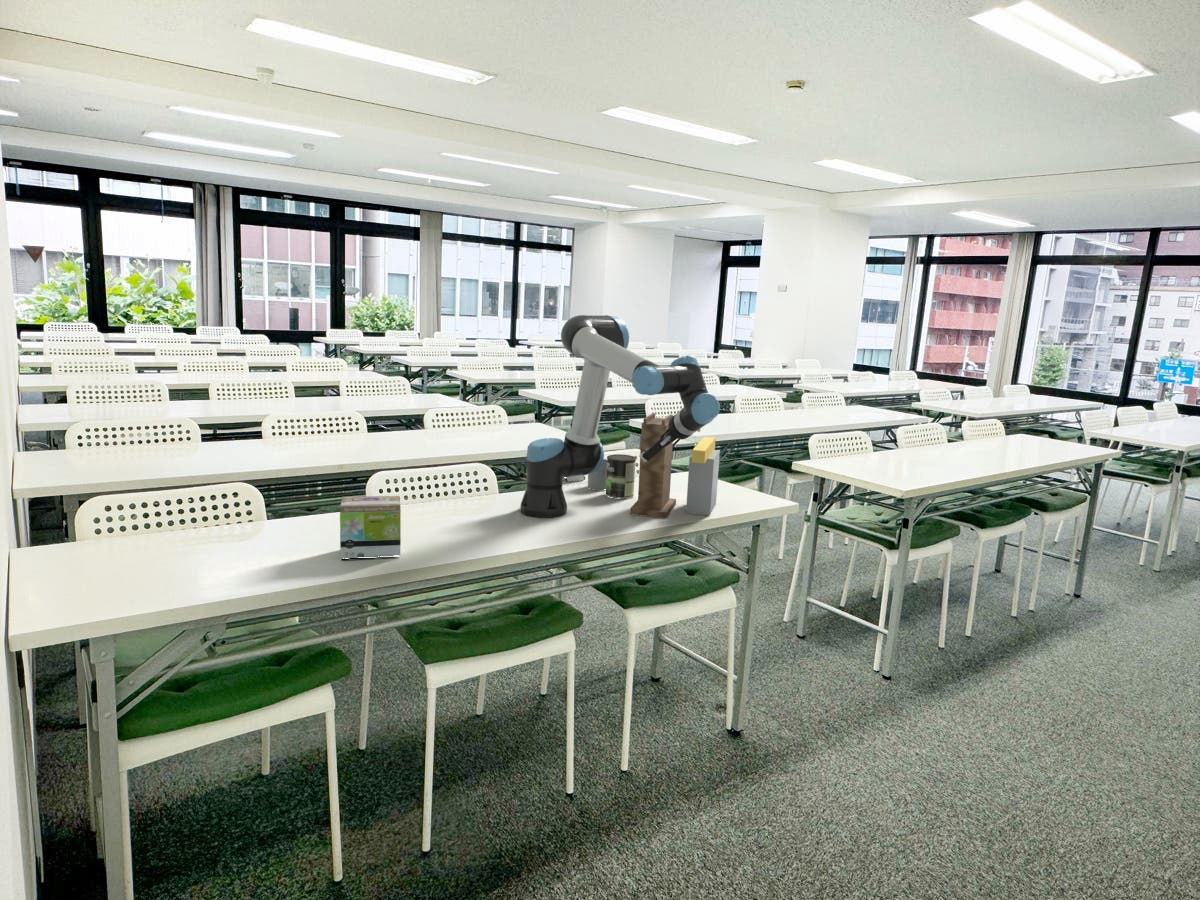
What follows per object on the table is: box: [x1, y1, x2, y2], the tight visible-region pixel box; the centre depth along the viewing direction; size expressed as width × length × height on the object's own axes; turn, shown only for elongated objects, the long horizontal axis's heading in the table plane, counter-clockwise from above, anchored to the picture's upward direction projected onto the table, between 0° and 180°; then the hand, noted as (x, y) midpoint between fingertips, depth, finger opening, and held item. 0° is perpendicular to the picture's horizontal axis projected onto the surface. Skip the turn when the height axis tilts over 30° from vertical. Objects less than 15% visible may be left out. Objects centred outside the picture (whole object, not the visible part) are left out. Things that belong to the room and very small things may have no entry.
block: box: [691, 436, 717, 463], centre depth 246 cm, size 4×26×4 cm, turn 164°
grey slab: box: [685, 449, 721, 516], centre depth 251 cm, size 8×16×19 cm, turn 164°
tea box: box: [339, 495, 402, 559], centre depth 195 cm, size 15×10×15 cm
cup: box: [587, 459, 607, 491], centre depth 275 cm, size 8×8×10 cm
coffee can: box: [605, 453, 637, 500], centre depth 264 cm, size 10×10×14 cm
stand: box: [629, 412, 677, 519], centre depth 246 cm, size 12×18×32 cm, turn 164°
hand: (656, 444), depth 231 cm, fingers open, 13 cm apart
